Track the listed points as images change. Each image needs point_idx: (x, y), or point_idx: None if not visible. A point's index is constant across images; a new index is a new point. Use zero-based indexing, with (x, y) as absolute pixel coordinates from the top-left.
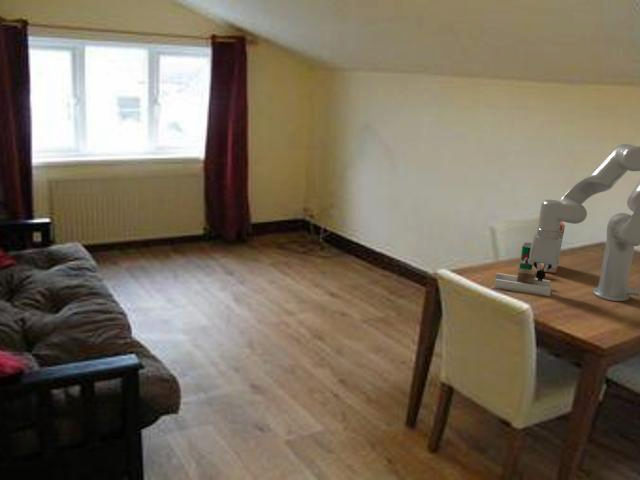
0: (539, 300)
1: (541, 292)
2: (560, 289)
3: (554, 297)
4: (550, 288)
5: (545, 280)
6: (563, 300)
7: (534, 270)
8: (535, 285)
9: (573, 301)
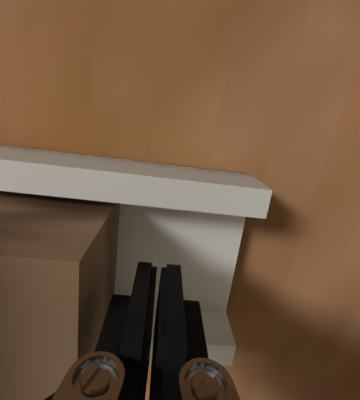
0: (147, 394)
1: None
2: (332, 163)
3: (243, 328)
4: (225, 362)
5: (222, 201)
6: (284, 354)
7: (70, 272)
8: None
9: (338, 351)
